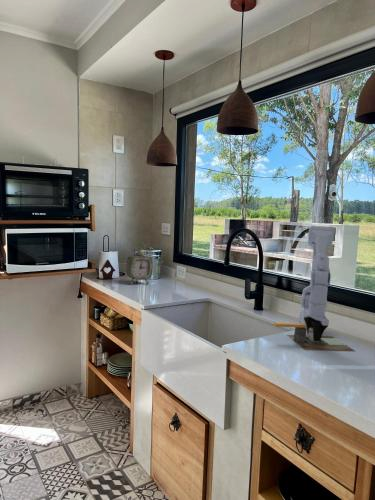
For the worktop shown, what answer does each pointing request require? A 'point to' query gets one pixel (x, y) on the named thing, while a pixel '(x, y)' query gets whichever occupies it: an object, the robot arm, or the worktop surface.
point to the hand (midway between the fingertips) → (313, 338)
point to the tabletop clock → (139, 266)
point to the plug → (311, 335)
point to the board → (303, 341)
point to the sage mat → (333, 341)
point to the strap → (290, 324)
